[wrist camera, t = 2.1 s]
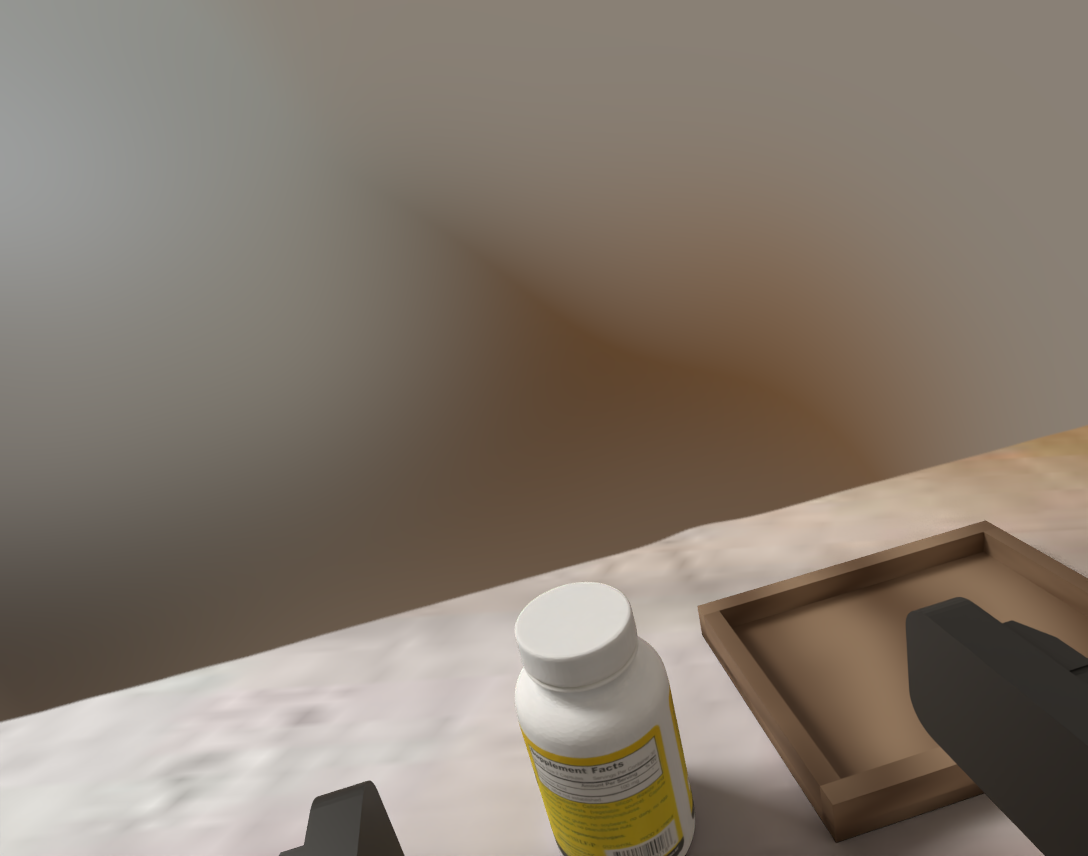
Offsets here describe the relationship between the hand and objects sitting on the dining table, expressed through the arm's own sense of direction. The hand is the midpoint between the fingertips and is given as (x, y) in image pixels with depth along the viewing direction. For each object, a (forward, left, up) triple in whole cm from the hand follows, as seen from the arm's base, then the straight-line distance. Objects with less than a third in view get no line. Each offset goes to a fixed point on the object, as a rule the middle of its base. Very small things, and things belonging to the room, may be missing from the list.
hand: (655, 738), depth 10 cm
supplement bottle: (0, +11, -16) cm, 20 cm away
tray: (+15, +14, -16) cm, 26 cm away
